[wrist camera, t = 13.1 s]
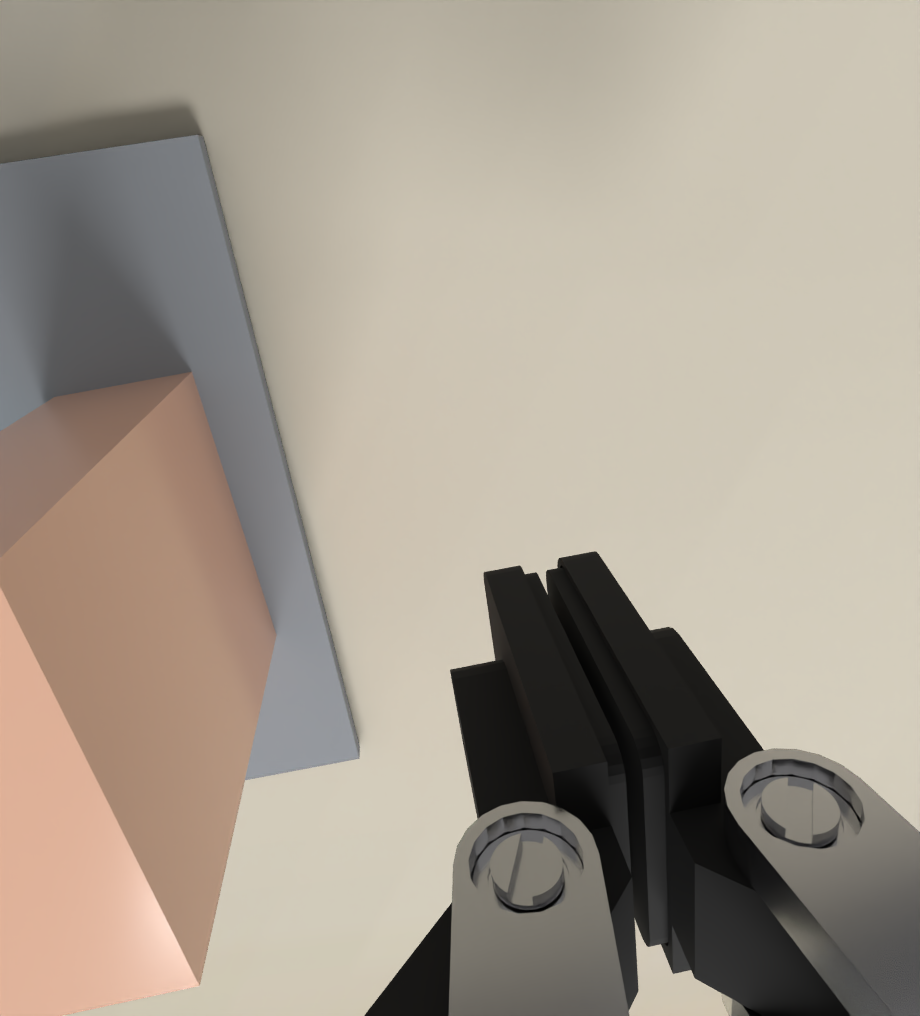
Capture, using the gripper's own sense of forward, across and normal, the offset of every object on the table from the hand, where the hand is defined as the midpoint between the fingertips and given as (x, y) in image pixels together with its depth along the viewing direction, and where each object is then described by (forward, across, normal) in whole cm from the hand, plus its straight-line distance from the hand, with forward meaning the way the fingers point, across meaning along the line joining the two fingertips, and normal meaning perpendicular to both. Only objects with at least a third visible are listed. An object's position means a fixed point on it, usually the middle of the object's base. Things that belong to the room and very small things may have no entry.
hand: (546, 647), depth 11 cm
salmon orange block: (+8, +7, 0) cm, 10 cm away
